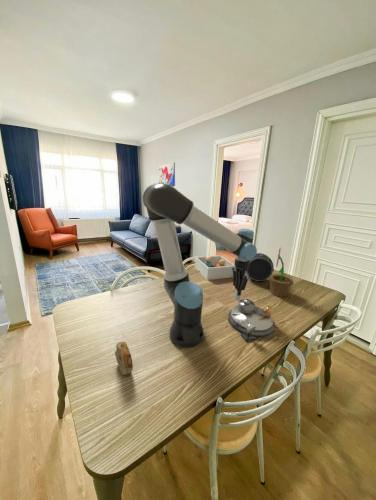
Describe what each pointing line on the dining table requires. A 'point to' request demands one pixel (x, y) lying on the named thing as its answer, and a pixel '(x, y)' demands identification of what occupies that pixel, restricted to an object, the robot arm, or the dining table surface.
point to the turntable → (254, 318)
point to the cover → (246, 306)
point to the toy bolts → (209, 264)
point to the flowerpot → (280, 282)
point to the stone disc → (123, 358)
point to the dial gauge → (250, 329)
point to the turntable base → (256, 334)
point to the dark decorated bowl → (260, 267)
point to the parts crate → (214, 268)
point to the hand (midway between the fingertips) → (236, 299)
